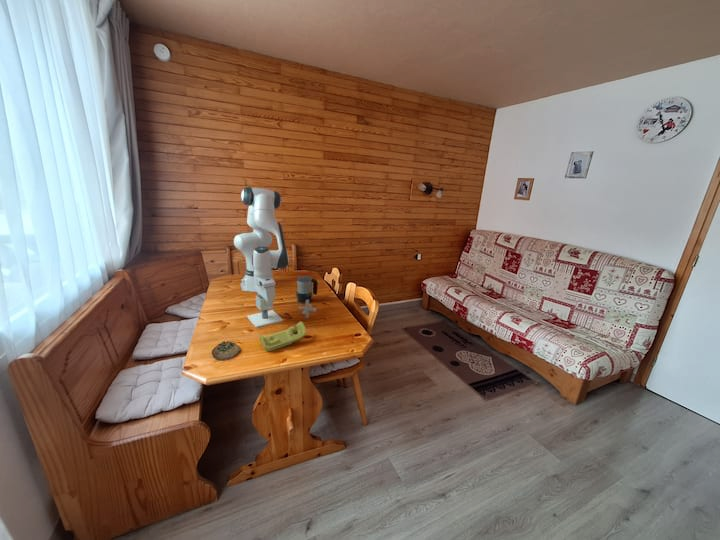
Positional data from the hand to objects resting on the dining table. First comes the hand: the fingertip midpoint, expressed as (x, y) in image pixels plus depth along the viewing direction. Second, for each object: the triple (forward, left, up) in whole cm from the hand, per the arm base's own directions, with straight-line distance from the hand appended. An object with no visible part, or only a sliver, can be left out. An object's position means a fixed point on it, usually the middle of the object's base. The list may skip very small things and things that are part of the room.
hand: (264, 303), depth 145 cm
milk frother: (-16, +31, -9) cm, 36 cm away
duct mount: (0, 0, -9) cm, 9 cm away
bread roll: (+21, -25, -10) cm, 34 cm away
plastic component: (+27, -1, -10) cm, 28 cm away
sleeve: (0, 0, -2) cm, 2 cm away
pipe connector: (+10, +20, -9) cm, 24 cm away
